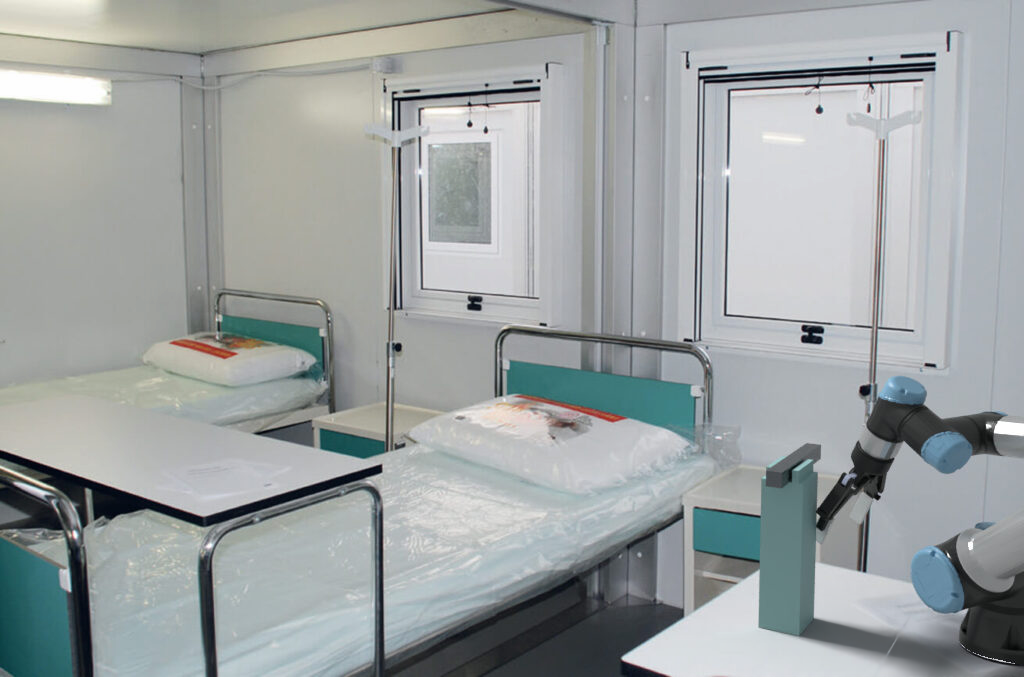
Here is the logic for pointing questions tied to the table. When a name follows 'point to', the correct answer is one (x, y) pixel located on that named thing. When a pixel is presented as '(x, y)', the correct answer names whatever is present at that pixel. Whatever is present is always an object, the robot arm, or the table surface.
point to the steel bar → (791, 465)
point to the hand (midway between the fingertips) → (836, 529)
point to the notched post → (788, 551)
